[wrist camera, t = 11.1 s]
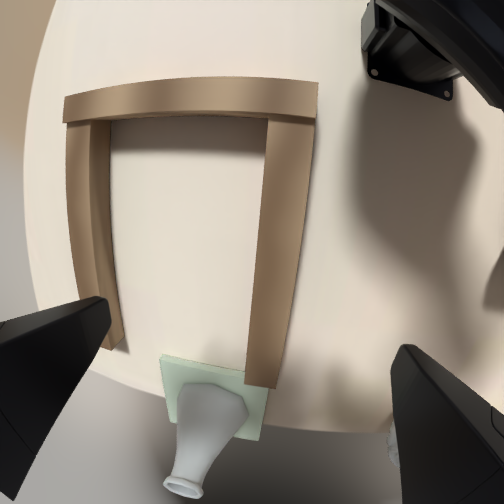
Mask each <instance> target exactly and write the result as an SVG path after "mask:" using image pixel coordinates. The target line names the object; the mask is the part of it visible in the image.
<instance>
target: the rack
mask: <svg viewBox="0 0 504 504" xmlns="http://www.w3.org/2000/svg"><path fill="white" fill-rule="evenodd" d="M317 97H318V82H310V81H301V80H291V79H279V78H263V77H191V78H176V79H164V80H154V81H145V82H138V83H131V84H124V85H118V86H112V87H107V88H101V89H96V90H91V91H87V92H82V93H78V94H74V95H70V96H66V97H65V100H64V110H63V123H67V131H66V197H67V213H68V225H69V235H70V243H71V251H72V258H73V265H74V271H75V277H76V283H77V288H78V293H79V298H80V300H82V299H85V298H89V297H92V296H101V297H104V298H106V299H107V300H108V302H109V307H110V313H111V318H112V324H111V327H110V329H109V331H108V333H107V335H106V337H105V338H104V340H103V342H102V344H101V346H100V347H102V348H105V349H108V350H111V351H112V350H113V348H114V347H115V346H116V345H117V344H118V343H119V341H120V340H121V339H122V338H123V337H124V330H123V325H122V319H121V313H120V307H119V301H118V294H117V286H116V279H115V270H114V261H113V250H112V238H111V222H110V197H109V156H110V132H111V120H121V119H133V118H147V117H166V116H233V117H253V118H267V119H268V130H267V142H266V153H265V164H264V175H263V186H262V197H261V208H260V219H259V230H258V241H257V252H256V263H255V273H254V284H253V294H252V305H251V315H250V326H249V336H248V347H247V357H246V367H245V377H244V384H245V385H251V386H257V387H263V388H270V389H276V384H277V380H278V375H279V370H280V365H281V359H282V354H283V349H284V344H285V338H286V333H287V327H288V322H289V316H290V310H291V304H292V298H293V292H294V286H295V280H296V273H297V267H298V260H299V253H300V247H301V239H302V232H303V225H304V217H305V210H306V202H307V194H308V185H309V177H310V168H311V158H312V149H313V138H314V128H315V118H316V110H317Z"/></svg>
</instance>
